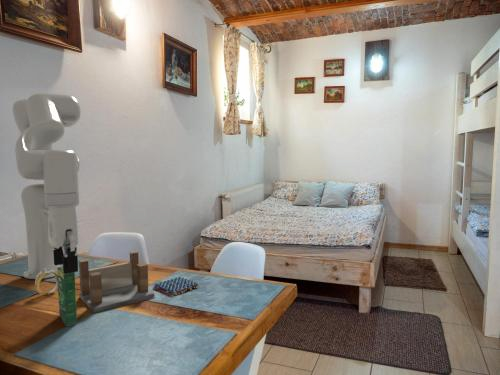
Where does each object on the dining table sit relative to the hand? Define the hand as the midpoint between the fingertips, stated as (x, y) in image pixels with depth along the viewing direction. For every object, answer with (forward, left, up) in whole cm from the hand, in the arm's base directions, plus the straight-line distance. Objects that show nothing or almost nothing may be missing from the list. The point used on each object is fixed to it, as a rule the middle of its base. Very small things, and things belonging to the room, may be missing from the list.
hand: (65, 268), depth 95 cm
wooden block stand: (-8, +15, -14) cm, 22 cm away
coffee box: (-1, 0, -14) cm, 14 cm away
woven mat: (-4, +32, -14) cm, 35 cm away
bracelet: (-24, 0, -14) cm, 27 cm away
